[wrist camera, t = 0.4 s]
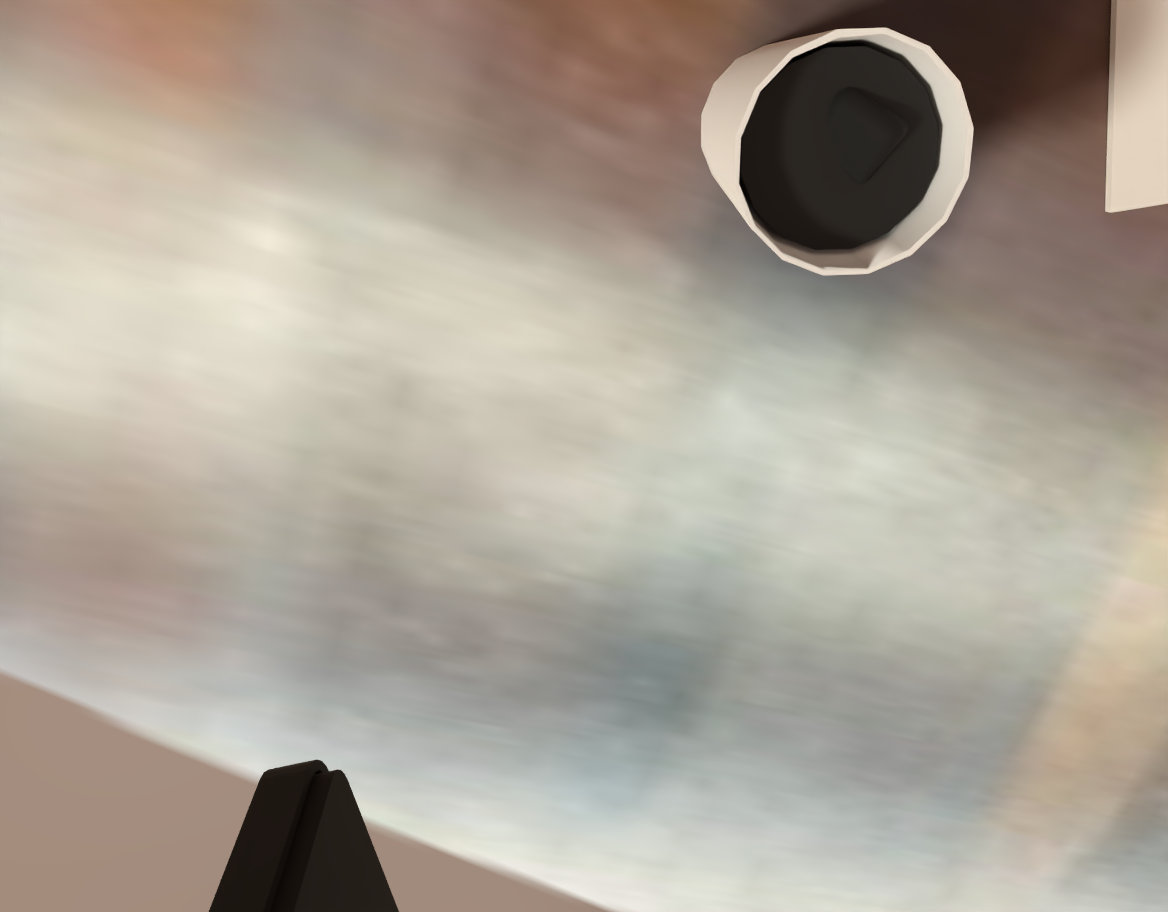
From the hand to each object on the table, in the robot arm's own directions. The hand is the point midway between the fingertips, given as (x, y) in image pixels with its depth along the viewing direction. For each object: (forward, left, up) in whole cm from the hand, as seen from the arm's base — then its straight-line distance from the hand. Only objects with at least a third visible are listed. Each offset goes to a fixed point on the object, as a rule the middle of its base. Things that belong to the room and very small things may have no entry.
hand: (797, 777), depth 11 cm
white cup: (-3, +6, -31) cm, 32 cm away
